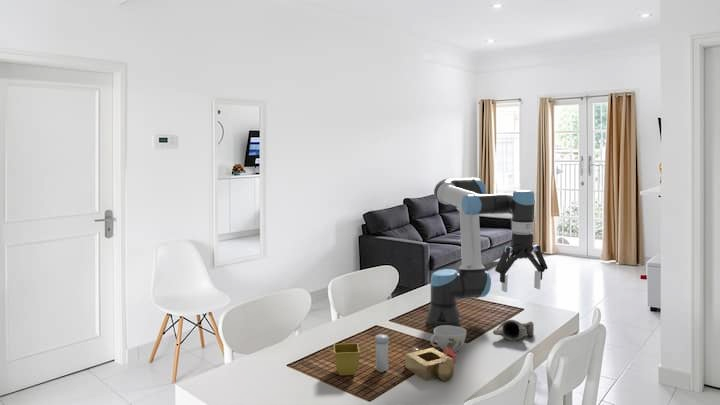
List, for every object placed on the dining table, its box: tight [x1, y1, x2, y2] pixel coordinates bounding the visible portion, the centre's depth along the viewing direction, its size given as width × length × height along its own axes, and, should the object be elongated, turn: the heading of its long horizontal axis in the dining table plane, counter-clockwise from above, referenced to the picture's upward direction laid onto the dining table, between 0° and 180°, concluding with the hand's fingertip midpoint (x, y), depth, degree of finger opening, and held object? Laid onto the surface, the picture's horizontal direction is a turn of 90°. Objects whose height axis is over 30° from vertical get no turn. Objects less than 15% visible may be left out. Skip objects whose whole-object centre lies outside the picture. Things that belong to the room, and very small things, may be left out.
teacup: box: [430, 325, 468, 353], centre depth 199 cm, size 15×12×8 cm
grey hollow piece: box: [492, 319, 534, 342], centre depth 211 cm, size 16×9×15 cm
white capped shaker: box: [374, 334, 390, 373], centre depth 182 cm, size 5×5×12 cm
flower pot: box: [332, 342, 361, 376], centre depth 179 cm, size 9×9×9 cm
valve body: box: [404, 346, 457, 382], centre depth 182 cm, size 20×15×6 cm
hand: (520, 289), depth 190 cm, fingers open, 13 cm apart
